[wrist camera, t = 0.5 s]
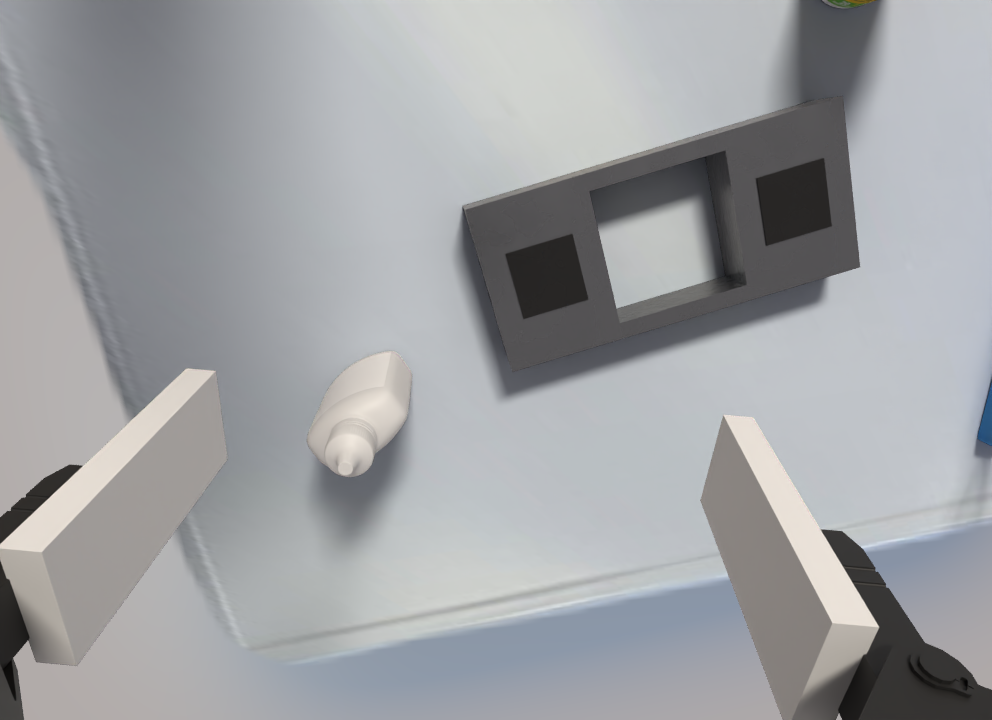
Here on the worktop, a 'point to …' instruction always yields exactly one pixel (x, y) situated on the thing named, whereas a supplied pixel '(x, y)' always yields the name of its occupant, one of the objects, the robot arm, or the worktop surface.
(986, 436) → the file sorter
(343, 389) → the eye dropper bottle
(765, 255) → the grey compartment tray
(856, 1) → the supplement bottle
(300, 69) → the worktop surface
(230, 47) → the worktop surface
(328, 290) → the worktop surface
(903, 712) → the robot arm
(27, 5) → the worktop surface
